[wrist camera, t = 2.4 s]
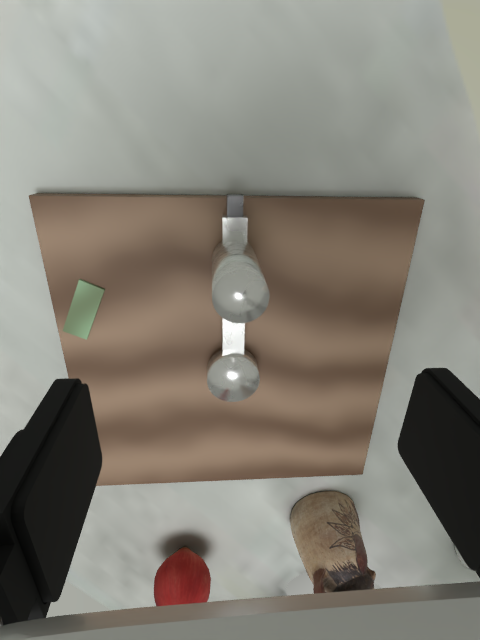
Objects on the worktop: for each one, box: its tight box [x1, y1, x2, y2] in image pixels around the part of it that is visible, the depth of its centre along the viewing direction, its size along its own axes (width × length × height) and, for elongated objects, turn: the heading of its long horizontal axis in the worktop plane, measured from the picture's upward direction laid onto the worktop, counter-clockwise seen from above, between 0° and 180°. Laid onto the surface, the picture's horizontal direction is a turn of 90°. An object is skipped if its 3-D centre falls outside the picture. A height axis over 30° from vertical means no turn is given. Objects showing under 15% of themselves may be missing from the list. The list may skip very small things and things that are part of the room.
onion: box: [154, 547, 211, 606], centre depth 38 cm, size 6×6×8 cm
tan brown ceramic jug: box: [290, 491, 376, 594], centre depth 35 cm, size 7×7×12 cm
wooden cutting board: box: [29, 193, 425, 486], centre depth 30 cm, size 26×26×1 cm
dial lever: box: [207, 194, 269, 402], centre depth 24 cm, size 15×4×7 cm, turn 179°
